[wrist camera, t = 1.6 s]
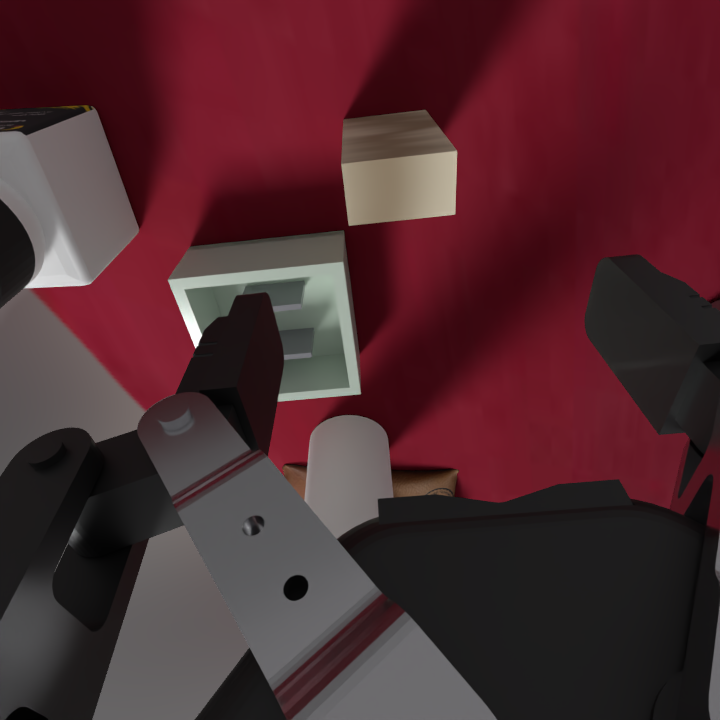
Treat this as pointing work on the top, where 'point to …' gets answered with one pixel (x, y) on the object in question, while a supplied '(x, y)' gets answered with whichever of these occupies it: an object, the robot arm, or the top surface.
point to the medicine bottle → (58, 199)
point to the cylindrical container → (347, 472)
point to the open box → (282, 304)
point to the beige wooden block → (397, 168)
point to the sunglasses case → (401, 481)
